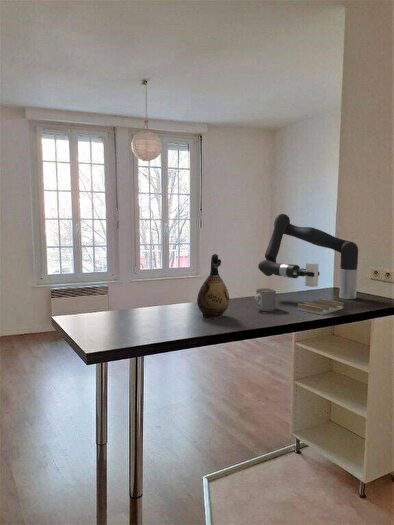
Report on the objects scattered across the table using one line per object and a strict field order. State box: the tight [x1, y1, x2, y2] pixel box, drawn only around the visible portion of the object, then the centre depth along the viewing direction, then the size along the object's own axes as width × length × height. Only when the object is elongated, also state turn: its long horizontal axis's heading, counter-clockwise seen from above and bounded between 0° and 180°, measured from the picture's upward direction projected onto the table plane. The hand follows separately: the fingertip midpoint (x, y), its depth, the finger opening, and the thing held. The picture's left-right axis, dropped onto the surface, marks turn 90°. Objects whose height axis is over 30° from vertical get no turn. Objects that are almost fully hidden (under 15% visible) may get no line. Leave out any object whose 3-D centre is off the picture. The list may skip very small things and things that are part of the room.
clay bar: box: [304, 262, 319, 288], centre depth 212 cm, size 4×5×12 cm
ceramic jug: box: [196, 253, 230, 320], centre depth 192 cm, size 17×15×30 cm
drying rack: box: [297, 298, 344, 316], centre depth 208 cm, size 20×14×3 cm
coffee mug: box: [253, 287, 277, 312], centre depth 208 cm, size 13×10×10 cm
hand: (316, 274), depth 209 cm, fingers closed on clay bar, 4 cm apart
